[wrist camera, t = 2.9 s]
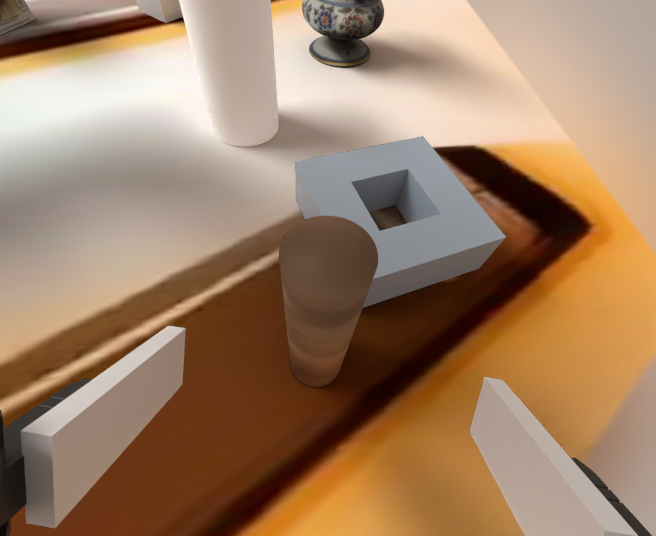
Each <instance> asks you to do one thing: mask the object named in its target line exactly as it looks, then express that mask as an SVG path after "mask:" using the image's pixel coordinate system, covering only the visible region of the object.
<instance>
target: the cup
mask: <svg viewBox="0 0 656 536" xmlns="http://www.w3.org/2000/svg"><path fill="white" fill-rule="evenodd" d="M179 3H180V7H181V10H182V14H183V18H184V22H185V26H186V30H187V34H188V37H189V41H190V45H191V49H192V53H193V57H194V60H195V64H196V68H197V72H198V76H199V80H200V83H201V87H202V91H203V95H204V99H205V103H206V107H207V110H208V114H209V118H210V122H211V126H212V130H213V132H214V134H215V136H216V137H217V138H218V139H220V140H221V141H223V142H225V143H227V144H230V145H234V146H241V147H248V146H255V145H259V144H262V143H265V142H267V141H269V140H270V139H272V138H273V137H274V136H275V135H276V133H277V132H278V129H279V120H278V105H277V90H276V75H275V60H274V45H273V30H272V15H271V0H179Z"/></svg>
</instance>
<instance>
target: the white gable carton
mask: <svg viewBox="0 0 656 536" xmlns="http://www.w3.org/2000/svg"><path fill="white" fill-rule="evenodd" d="M136 2H137V5H138V8H139V10H140V11H142V12H144V13H146V14H148V15H150V16H152V17H154V18H156V19H159V20H161V21H163V22H165V23H168V22H170V21H173V20H175V19H178V18H181V17H183V14H182V10H181V7H180V3H179V0H136Z"/></svg>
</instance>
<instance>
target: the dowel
mask: <svg viewBox="0 0 656 536" xmlns="http://www.w3.org/2000/svg"><path fill="white" fill-rule="evenodd" d="M279 259H280V269H281V278H282V288H283V297H284V307H285V317H286V326H287V336H288V345H289V355H290V364H291V370H292V372H293V375H294V376H295V378H296V379H297V380H298V381H299V382H300V383H302V384H303V385H305V386H308V387H312V388H319V387H324V386H326V385H328V384H330V383H331V382H332V381H333V380H334V379H335V378H336V377H337V375H338V373H339V371H340V368H341V365H342V363H343V360H344V357H345V354H346V352H347V349H348V346H349V344H350V341H351V338H352V335H353V333H354V330H355V327H356V324H357V322H358V319H359V316H360V313H361V311H362V308H363V305H364V302H365V300H366V297H367V294H368V291H369V289H370V286H371V283H372V280H373V278H374V275H375V272H376V269H377V266H378V251H377V247H376V245H375V243H374V241H373V239H372V237H371V236H370V235H369V234H368V232H367V231H366V230H364V229H363V228H362V227H361V226H359V225H358V224H356V223H354V222H353V221H350V220H348V219H345V218H342V217H337V216H316V217H311V218H308V219H305V220H303V221H301V222H299V223H297V224H296V225H295V226H293V227H292V228H291V229H290V230H289V231H288V232H287V233H286V235H285V236H284V238H283V240H282V242H281V245H280V250H279Z"/></svg>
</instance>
